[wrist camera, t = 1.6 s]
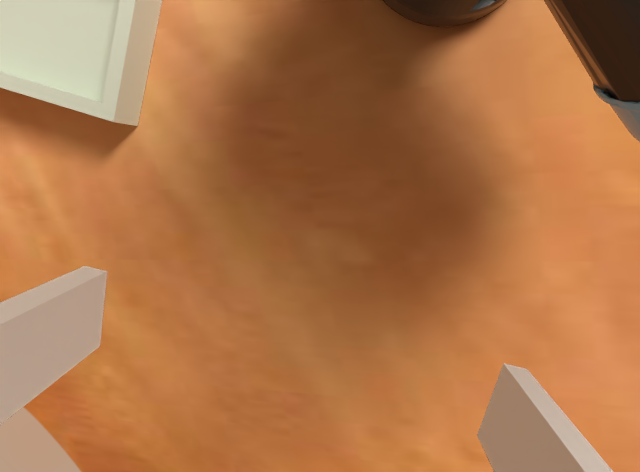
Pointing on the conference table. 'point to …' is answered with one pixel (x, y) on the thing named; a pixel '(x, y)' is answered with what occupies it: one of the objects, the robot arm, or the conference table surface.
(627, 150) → the conference table surface
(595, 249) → the conference table surface
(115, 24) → the open sided tray
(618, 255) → the conference table surface
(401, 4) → the robot arm
